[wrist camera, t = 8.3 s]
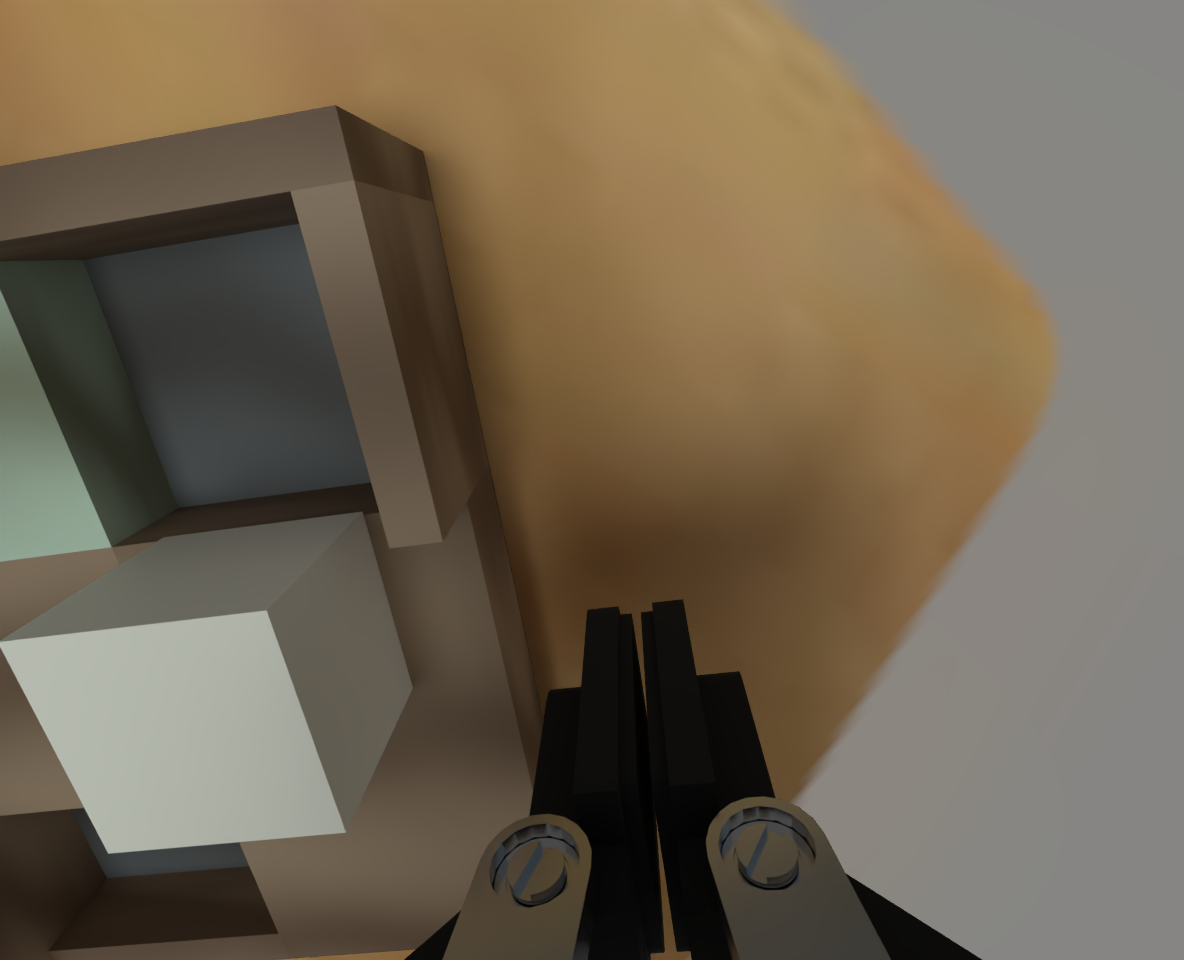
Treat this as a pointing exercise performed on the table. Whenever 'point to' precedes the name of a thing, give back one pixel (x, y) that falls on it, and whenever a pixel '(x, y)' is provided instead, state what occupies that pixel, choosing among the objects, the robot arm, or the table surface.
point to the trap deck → (253, 511)
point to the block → (221, 685)
